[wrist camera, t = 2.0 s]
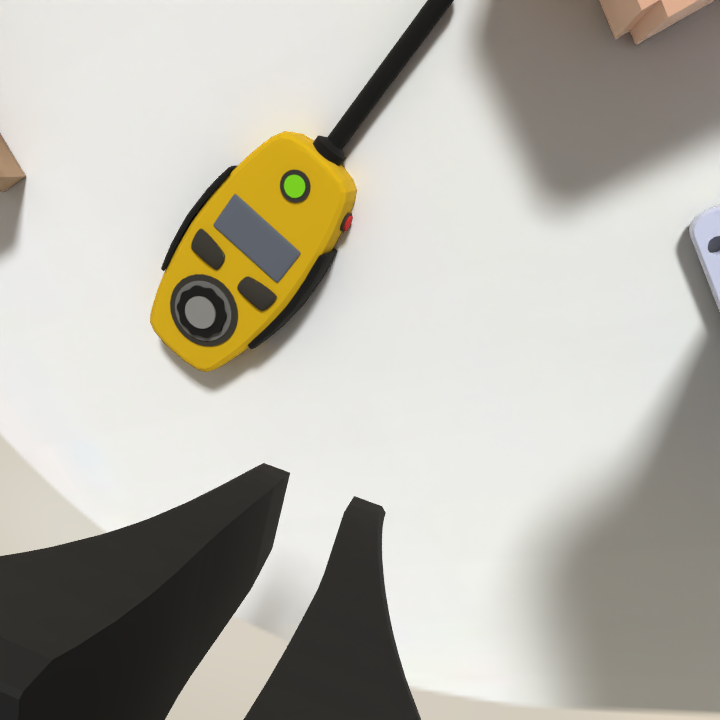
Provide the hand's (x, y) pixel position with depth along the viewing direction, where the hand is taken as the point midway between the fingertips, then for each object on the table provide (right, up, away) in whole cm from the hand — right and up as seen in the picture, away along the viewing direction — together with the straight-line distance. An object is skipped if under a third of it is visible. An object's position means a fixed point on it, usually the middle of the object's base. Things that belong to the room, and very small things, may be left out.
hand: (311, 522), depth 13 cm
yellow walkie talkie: (-1, +9, +8) cm, 12 cm away
